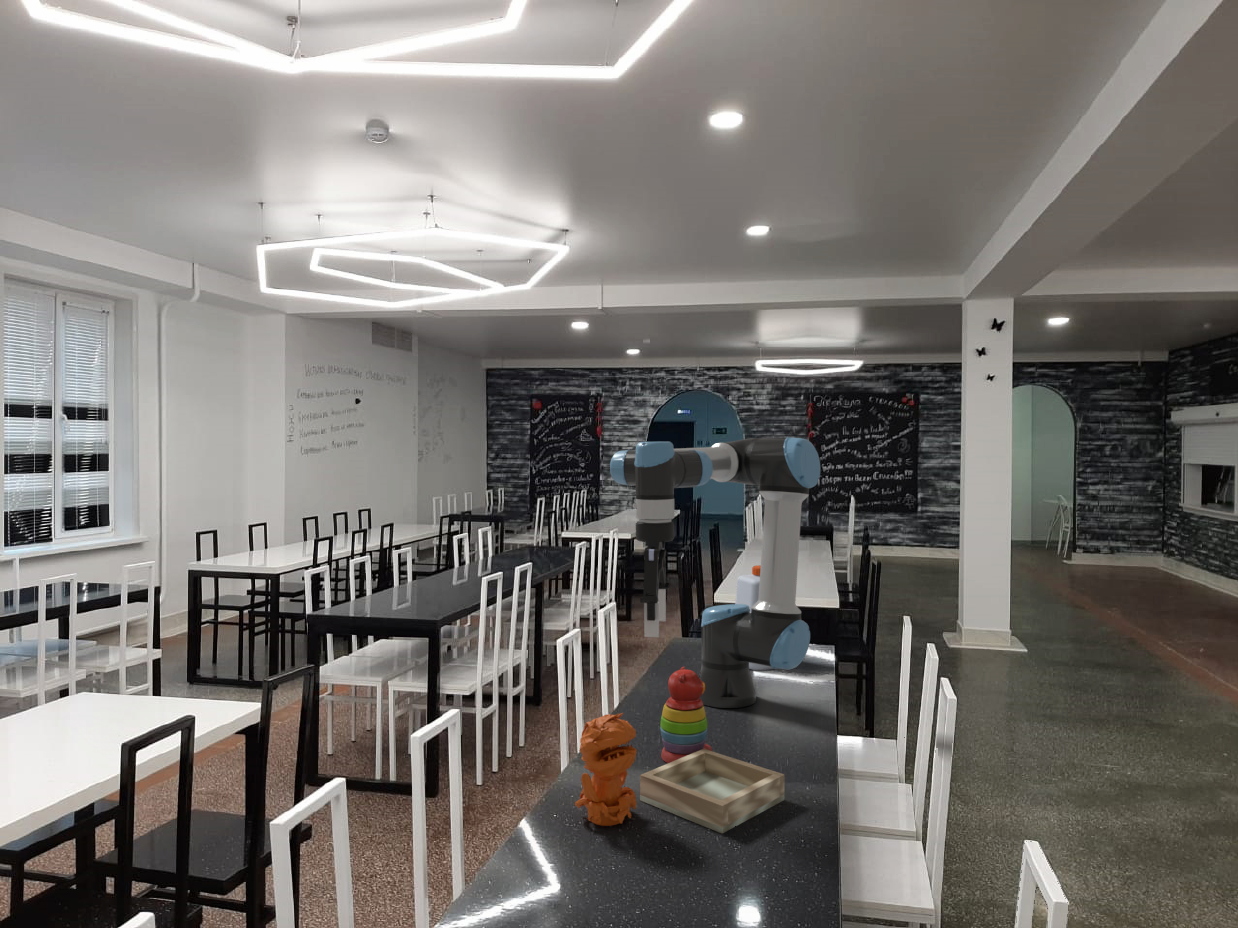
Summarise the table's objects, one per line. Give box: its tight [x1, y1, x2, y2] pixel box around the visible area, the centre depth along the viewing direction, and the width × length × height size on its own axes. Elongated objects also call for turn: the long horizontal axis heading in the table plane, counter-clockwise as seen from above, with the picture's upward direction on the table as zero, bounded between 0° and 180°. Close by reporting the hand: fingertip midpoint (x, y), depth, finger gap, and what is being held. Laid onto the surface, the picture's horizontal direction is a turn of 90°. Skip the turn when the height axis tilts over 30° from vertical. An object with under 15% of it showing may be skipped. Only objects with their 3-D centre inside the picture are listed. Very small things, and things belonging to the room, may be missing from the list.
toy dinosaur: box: [574, 712, 638, 827], centre depth 139 cm, size 11×11×18 cm
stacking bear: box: [659, 666, 713, 764], centre depth 166 cm, size 11×10×18 cm
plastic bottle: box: [734, 564, 780, 671], centre depth 239 cm, size 15×15×28 cm
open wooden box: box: [639, 749, 785, 834], centre depth 147 cm, size 18×18×4 cm
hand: (655, 628), depth 163 cm, fingers open, 13 cm apart
